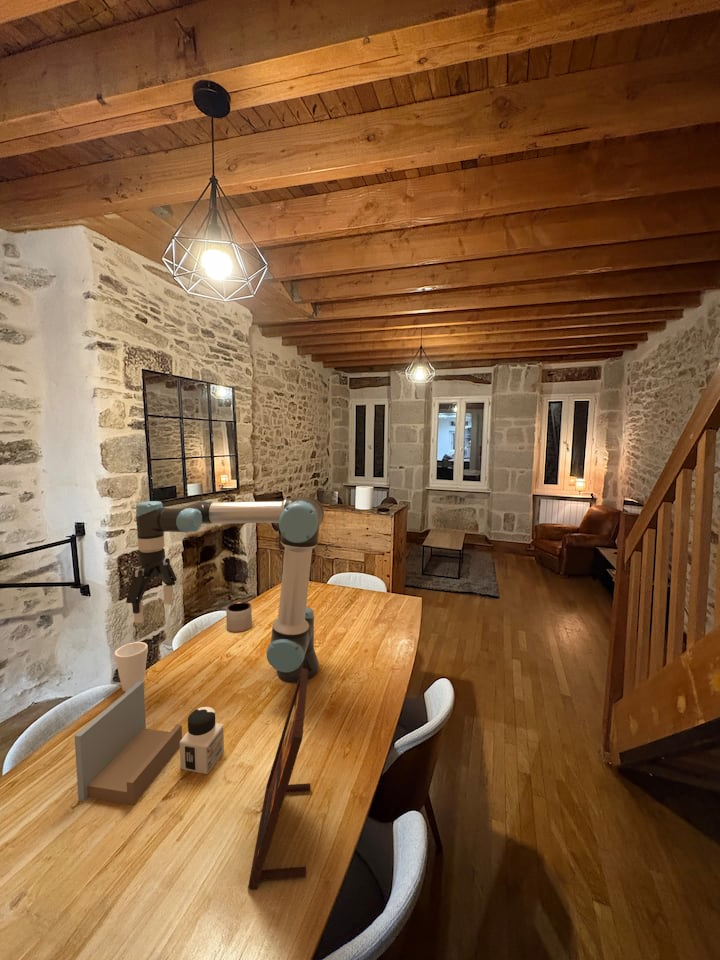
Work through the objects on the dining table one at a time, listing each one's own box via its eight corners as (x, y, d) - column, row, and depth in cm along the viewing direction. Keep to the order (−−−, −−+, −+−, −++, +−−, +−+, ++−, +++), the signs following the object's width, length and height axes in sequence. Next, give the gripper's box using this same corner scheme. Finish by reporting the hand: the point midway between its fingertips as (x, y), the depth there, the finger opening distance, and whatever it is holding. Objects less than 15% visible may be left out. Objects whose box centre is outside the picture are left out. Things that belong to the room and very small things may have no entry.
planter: (257, 625, 171) (256, 605, 170) (237, 635, 162) (237, 614, 161) (240, 619, 177) (240, 599, 176) (221, 628, 168) (220, 607, 167)
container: (207, 775, 94) (206, 726, 92) (179, 769, 95) (178, 721, 94) (224, 750, 101) (223, 705, 100) (198, 745, 103) (197, 700, 101)
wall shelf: (184, 740, 104) (182, 686, 103) (130, 809, 85) (127, 743, 83) (141, 734, 106) (138, 681, 105) (78, 800, 87) (74, 735, 85)
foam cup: (155, 680, 130) (153, 645, 129) (131, 697, 122) (129, 659, 121) (134, 675, 134) (133, 640, 132) (109, 691, 125) (107, 653, 124)
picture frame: (266, 788, 90) (264, 669, 87) (310, 785, 91) (310, 667, 88) (247, 890, 69) (245, 739, 67) (305, 885, 70) (305, 735, 68)
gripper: (167, 539, 135) (169, 596, 137) (109, 560, 110) (113, 629, 112) (186, 540, 134) (188, 598, 136) (132, 561, 109) (136, 631, 111)
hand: (154, 612), depth 124 cm, fingers open, 13 cm apart
